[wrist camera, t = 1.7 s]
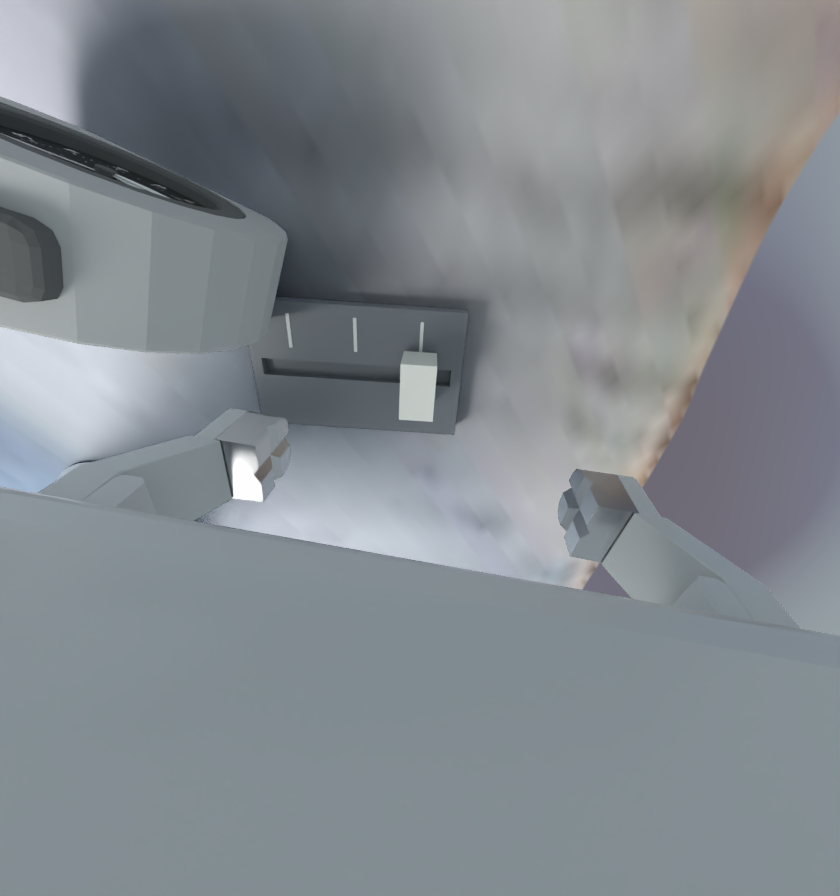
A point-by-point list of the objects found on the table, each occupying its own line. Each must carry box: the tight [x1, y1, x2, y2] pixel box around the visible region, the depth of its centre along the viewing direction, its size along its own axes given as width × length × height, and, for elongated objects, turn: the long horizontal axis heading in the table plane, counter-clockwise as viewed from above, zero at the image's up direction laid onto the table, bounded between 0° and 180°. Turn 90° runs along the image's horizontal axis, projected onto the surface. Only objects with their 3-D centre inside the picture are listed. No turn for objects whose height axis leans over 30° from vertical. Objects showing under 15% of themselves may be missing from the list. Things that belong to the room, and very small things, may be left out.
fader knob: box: [399, 351, 437, 422], centre depth 32 cm, size 5×3×5 cm, turn 176°
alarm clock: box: [0, 97, 288, 354], centre depth 22 cm, size 21×8×20 cm, turn 66°
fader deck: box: [248, 297, 469, 435], centre depth 35 cm, size 12×20×2 cm, turn 87°
